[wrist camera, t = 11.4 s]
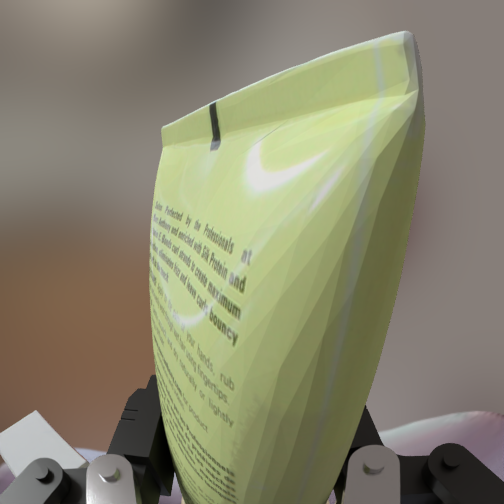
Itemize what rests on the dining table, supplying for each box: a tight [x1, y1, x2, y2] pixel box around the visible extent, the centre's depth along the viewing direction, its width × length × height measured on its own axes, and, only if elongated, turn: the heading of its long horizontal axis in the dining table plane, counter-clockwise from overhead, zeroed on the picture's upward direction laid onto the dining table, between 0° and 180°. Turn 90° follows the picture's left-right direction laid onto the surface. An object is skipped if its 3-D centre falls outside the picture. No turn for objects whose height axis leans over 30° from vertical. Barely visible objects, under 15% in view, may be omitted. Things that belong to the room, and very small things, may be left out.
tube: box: [150, 31, 425, 504], centre depth 8 cm, size 6×5×20 cm
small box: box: [0, 411, 89, 478], centre depth 15 cm, size 8×6×10 cm
